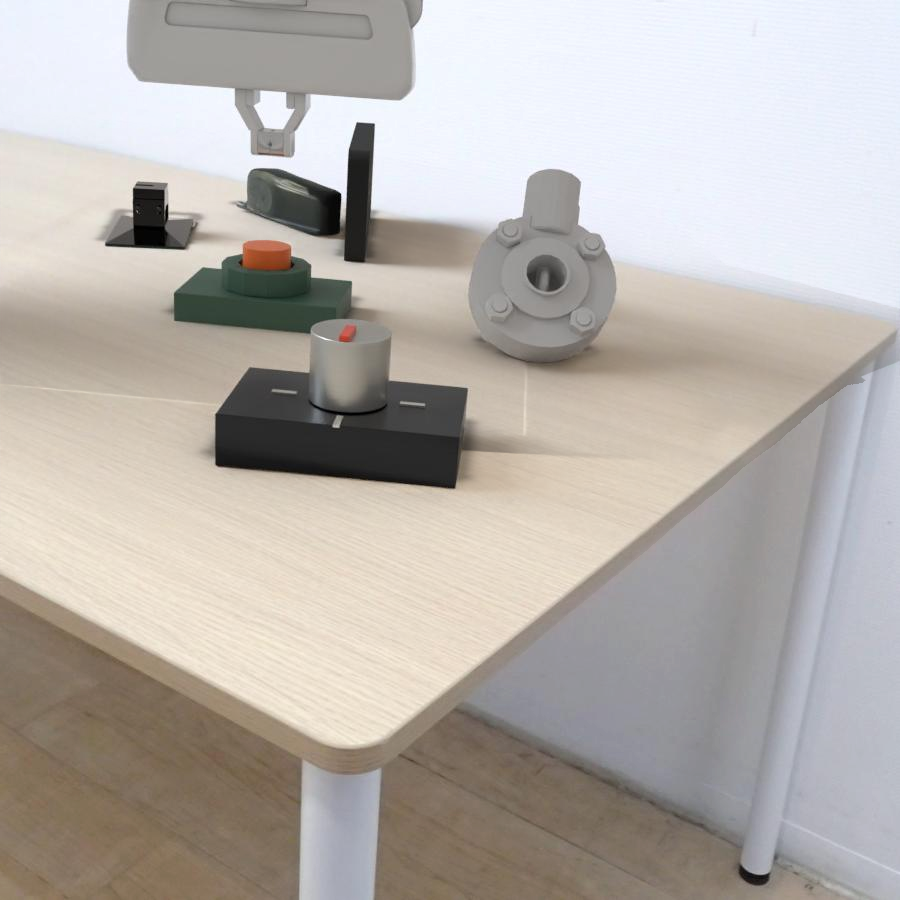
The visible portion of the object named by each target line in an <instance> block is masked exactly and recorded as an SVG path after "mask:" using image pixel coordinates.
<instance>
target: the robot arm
mask: <svg viewBox="0 0 900 900" xmlns="http://www.w3.org/2000/svg"><path fill="white" fill-rule="evenodd" d="M423 6H424V0H129V2H128V9H127V22H126V63H127V66H128V69H129V70H130V71H131V73H132V74H133V76H134V77H135V78H136V80H137V81H139V82H141V83H142V82H143V83H155V84H166V85H167V84H169V85H182V86H194V87H209V88H221V89H222V88H223V89H234V106H235V108H236V110H237V111H238V114H239V115H240V117H241V119H242V120H243V122H244V125H245V126H246V128H247V129H248V131H250V154H251V156H260V157H261V156H263V157H264V156H265V157H276V158H288V159H291V158H293V157H294V155H295V151H296V131H297V130H298V129H299V127H300V126H301V124H302V122H303V120H304V119H305V117H306V115H307V114H308V112H309V110H310V108H311V100H312V98H311V96H312V95H316V96H329V97H344V98H356V99H367V100H369V99H370V100H372V99H373V100H383V101H396V102H397V101H403V100H404V99H405V98H407V96H409V95H410V94H411V93H412V91H413V90H414V89H415V86H416V77H417V76H416V75H417V71H416V70H417V69H416V68H417V67H416V64H417V61H416V43H415V32H414V31H415V30H414V28H415V26H417V25H418V23H420V20H421V18H422V15H423V11H424V10H423V8H424V7H423ZM262 91H264V92H276V93H285V107H286V109H287V110H292V113H291V115H290V117H289V118H288V120H287V122H286V124H285V125H284V127H283V129H282V128H270V127H265V125H264V124H263V121H262V119H261V116H260V115H259V113H258V112H257V109H256V107H255V106H256V105H257V104H259V103H260V102H261V92H262Z"/></svg>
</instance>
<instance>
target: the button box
mask: <svg viewBox="0 0 900 900" xmlns="http://www.w3.org/2000/svg"><path fill="white" fill-rule="evenodd" d="M352 294H353V281H352V280H344V279H335V278H325V277H324V278H322V277H312V264H311V263H310V262H308V261H307V260H306V259H304V258H301V257H297V256H293V255H291V268H289V269H285V270H258V269H251V268H247V267H243V253H240V254H236V255H235V254H234V255H230V256H226V258H224V259H223V260H222V261H221V268H216V267H201V268H200V269H199V270H198V271H196V273H194V274H193V275H192V276H191V277H190V278H189V279H187V281H185V282H184V283H183V284H182V285H181V286H180V287H179V288H177V289H176V290H175V291H174V292H173V321H174V322H185V323H194V324H206V325H215V326H228V327H235V328H236V327H238V328H249V329H257V330H258V329H260V330H270V331H281V332H289V333H290V332H291V333H302V334H311V328H312V326H313V325H315V324H316V323H319V322H322V321H327V320H334V319H346V317H347V315H348V313H349V311H350V310H351V308H352V296H353V295H352Z"/></svg>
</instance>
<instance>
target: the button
mask: <svg viewBox="0 0 900 900" xmlns="http://www.w3.org/2000/svg"><path fill="white" fill-rule="evenodd" d="M242 254H243V267H247V268H251V269H258V270H285V269H289V268H291V256H292V246H291V244H289V243H287V242H284V241H278V240H270V239H256V240H255V239H254V240H248V241H245V242H244V243H242Z"/></svg>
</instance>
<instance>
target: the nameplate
mask: <svg viewBox="0 0 900 900" xmlns="http://www.w3.org/2000/svg"><path fill="white" fill-rule="evenodd" d="M375 132H376V123H374V122H359V121H356V123H355V126H354V130H353V133H352V137H351V140H350V144H349V147H348V152H347V153H348V154H347V170H346V174H347V176H346V197H345V198H346V199H345V219H344V220H345V223H344V246H343V247H344V249H343V250H344V251H343V261H351V262H366V254H367V247H368V240H369V234H370V233H369V232H370V224H371V215H372V197H373V195H372V191H373V174H374V173H373V172H374V156H375V155H374V153H375V152H374V151H375V134H376V133H375Z"/></svg>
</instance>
